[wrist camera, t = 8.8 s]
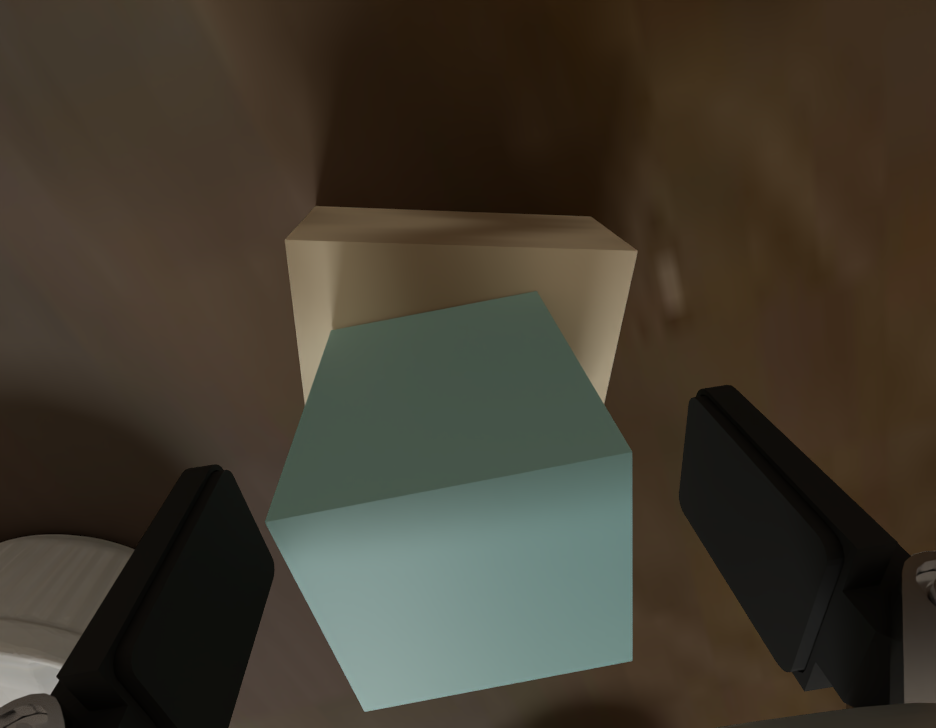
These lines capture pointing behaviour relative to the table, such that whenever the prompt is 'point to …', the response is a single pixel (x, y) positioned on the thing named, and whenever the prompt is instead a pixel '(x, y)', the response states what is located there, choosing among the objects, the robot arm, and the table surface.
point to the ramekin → (49, 604)
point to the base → (456, 273)
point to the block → (458, 505)
